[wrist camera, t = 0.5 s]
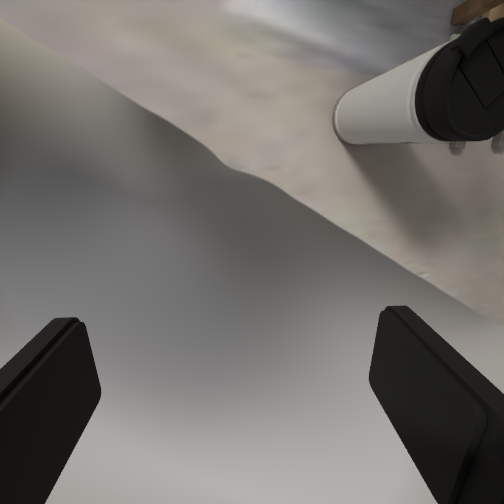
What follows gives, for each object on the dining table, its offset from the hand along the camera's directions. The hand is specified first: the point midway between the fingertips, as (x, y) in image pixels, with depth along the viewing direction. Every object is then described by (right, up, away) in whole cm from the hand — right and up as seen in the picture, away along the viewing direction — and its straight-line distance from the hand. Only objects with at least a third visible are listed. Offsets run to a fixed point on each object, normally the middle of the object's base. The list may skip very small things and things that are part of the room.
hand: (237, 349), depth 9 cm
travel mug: (+13, +20, +25) cm, 35 cm away
